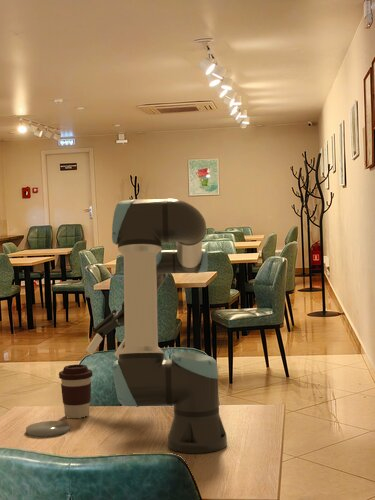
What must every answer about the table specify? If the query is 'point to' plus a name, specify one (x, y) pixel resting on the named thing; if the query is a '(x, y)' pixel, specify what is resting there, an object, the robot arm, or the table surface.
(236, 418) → the table surface
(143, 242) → the robot arm
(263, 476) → the table surface
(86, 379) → the coffee cup
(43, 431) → the slate coaster
